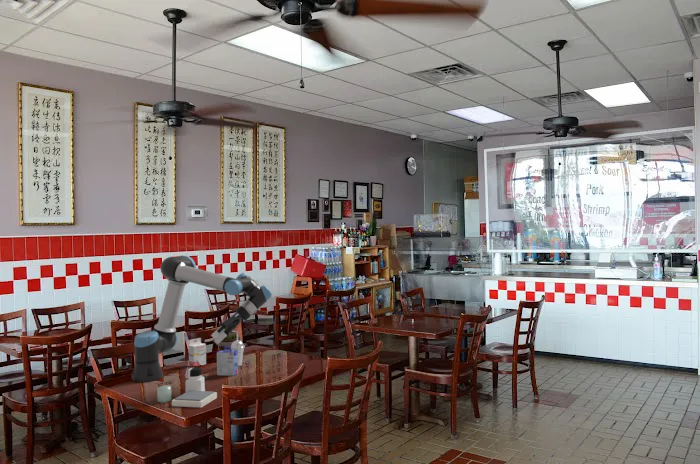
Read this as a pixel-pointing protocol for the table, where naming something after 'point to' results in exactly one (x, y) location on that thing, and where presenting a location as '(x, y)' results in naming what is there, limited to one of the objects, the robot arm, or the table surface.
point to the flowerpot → (228, 341)
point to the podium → (194, 399)
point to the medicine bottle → (195, 380)
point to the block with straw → (238, 349)
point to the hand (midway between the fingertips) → (214, 340)
